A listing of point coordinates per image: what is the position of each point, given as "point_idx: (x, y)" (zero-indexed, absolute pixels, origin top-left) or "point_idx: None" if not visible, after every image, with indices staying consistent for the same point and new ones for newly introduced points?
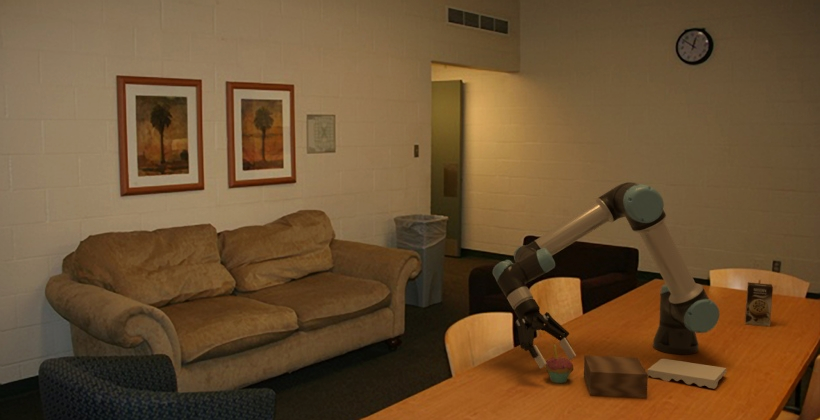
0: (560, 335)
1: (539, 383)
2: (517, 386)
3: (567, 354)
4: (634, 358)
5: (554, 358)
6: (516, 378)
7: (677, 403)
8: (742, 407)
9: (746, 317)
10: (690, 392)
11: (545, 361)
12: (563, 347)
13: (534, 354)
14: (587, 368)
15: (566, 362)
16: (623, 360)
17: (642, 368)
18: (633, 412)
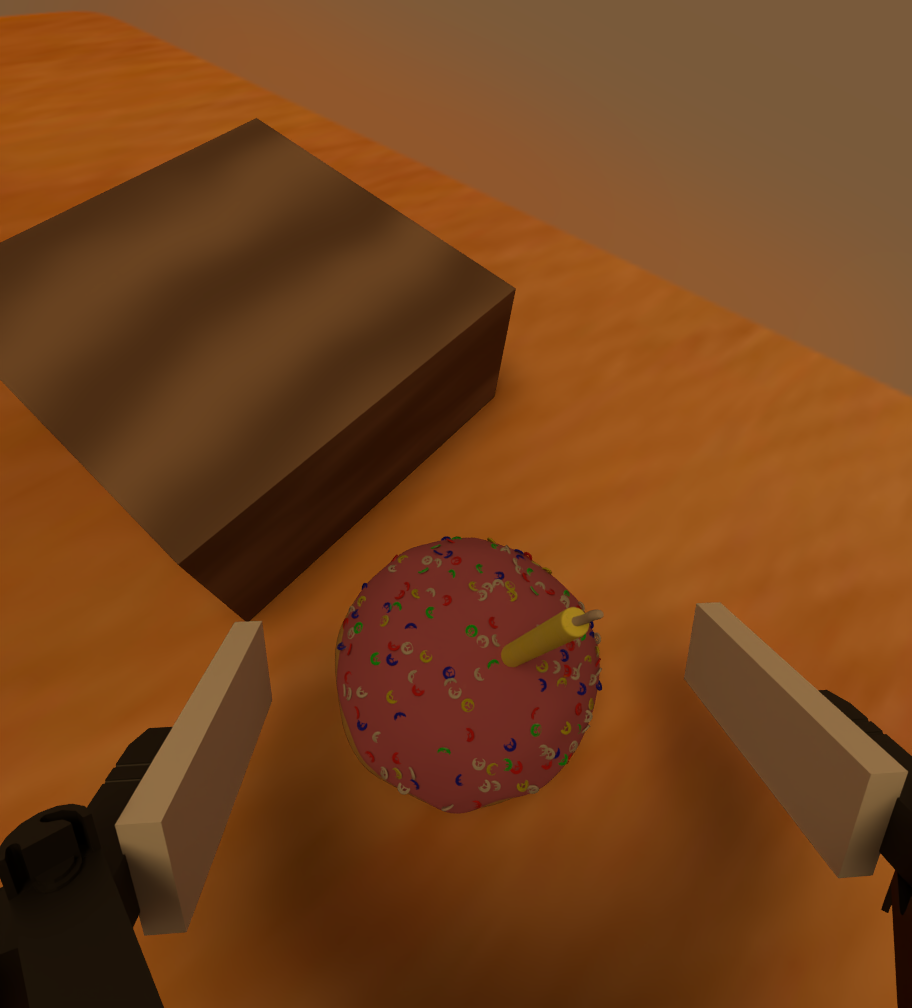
0: (130, 926)
1: (631, 718)
2: None
3: (254, 729)
4: None
5: (509, 688)
6: (740, 947)
7: None
8: (100, 55)
9: None
10: (55, 188)
11: (709, 616)
12: (223, 806)
13: (851, 708)
14: (377, 429)
15: (459, 567)
16: (73, 303)
17: (165, 170)
18: (489, 204)
